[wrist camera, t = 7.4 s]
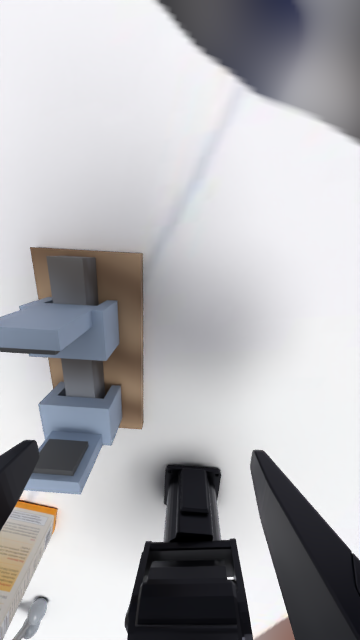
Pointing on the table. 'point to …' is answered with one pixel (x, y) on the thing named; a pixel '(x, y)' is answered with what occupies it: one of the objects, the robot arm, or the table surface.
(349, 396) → the table surface
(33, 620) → the molecular model
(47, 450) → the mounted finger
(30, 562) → the supplement box
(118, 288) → the rail board
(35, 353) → the notched blue block
